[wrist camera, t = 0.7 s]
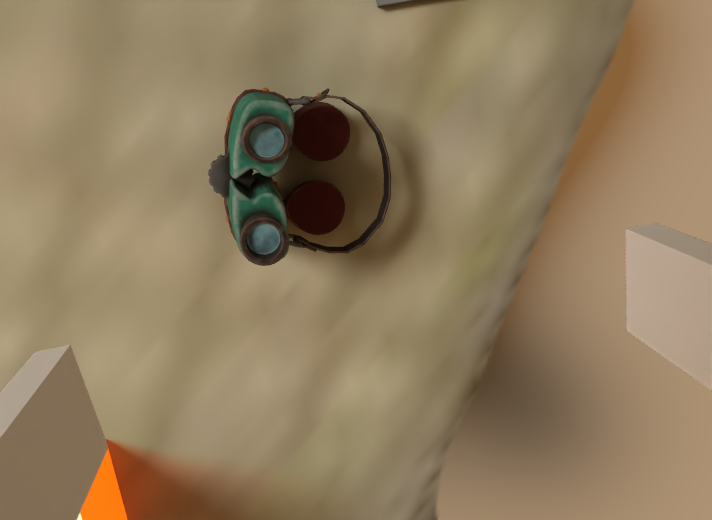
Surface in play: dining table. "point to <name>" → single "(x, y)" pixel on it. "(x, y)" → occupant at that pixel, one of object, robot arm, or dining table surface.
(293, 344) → the dining table surface
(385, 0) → the mat
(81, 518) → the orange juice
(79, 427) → the robot arm
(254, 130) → the binoculars
